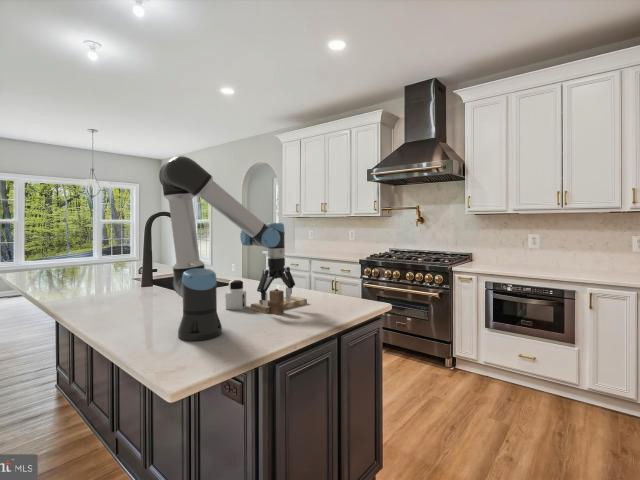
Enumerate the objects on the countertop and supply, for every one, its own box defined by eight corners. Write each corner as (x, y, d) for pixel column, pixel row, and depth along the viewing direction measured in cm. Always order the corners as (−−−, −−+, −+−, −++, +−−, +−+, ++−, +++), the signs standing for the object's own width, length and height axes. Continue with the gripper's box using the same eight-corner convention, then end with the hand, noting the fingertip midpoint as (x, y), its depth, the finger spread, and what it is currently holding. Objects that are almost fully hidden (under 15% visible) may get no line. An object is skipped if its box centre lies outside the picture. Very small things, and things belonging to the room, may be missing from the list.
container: (246, 306, 175) (246, 279, 174) (241, 310, 167) (241, 282, 167) (231, 305, 176) (230, 279, 175) (225, 309, 168) (225, 281, 167)
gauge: (276, 314, 159) (276, 290, 158) (258, 309, 168) (257, 286, 168) (283, 313, 162) (283, 289, 161) (264, 308, 171) (264, 285, 170)
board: (265, 313, 161) (265, 308, 161) (250, 309, 169) (250, 304, 169) (306, 303, 180) (306, 298, 180) (291, 300, 188) (291, 295, 187)
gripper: (258, 260, 149) (259, 311, 150) (302, 255, 167) (302, 300, 169) (248, 259, 154) (249, 308, 156) (291, 254, 172) (292, 298, 174)
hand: (277, 304), depth 162 cm, fingers open, 13 cm apart
